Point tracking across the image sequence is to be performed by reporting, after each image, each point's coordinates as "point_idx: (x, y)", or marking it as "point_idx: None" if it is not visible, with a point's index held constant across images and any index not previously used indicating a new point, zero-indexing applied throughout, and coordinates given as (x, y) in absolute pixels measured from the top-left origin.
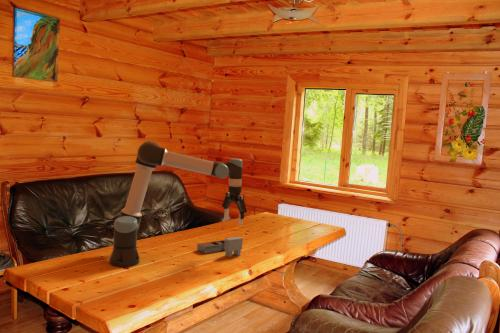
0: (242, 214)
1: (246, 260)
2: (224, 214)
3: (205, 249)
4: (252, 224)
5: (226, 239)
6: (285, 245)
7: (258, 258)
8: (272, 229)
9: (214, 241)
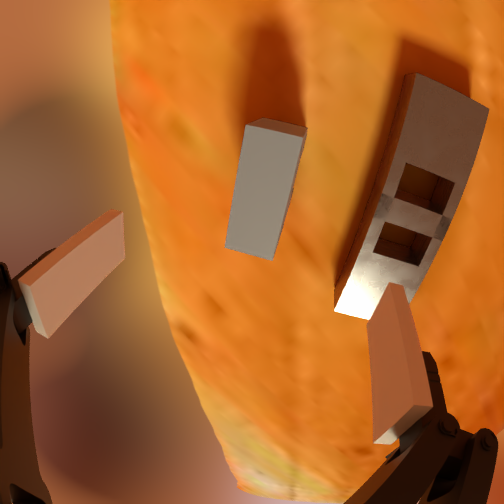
0: (13, 283)
1: (181, 156)
2: (413, 334)
3: (411, 78)
4: None
5: (279, 131)
6: (232, 398)
7: (172, 222)
8: (356, 465)
9: (448, 222)
